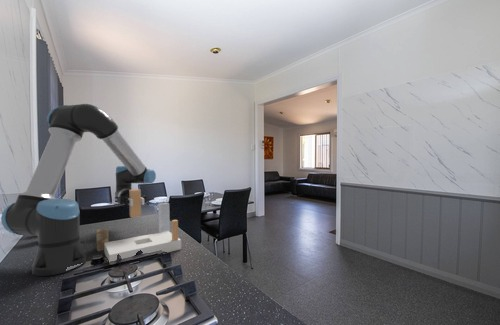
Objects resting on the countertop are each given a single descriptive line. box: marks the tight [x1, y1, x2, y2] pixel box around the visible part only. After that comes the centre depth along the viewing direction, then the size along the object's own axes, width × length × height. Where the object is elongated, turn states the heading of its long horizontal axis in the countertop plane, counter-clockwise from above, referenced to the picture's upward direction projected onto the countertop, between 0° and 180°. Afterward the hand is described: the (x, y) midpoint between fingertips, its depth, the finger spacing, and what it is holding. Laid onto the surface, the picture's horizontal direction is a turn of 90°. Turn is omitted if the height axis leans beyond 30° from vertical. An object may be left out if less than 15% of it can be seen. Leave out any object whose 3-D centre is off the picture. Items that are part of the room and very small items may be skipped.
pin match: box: [128, 188, 142, 219], centre depth 112 cm, size 4×4×12 cm
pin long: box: [158, 202, 171, 233], centre depth 120 cm, size 4×4×16 cm
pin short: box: [95, 227, 110, 252], centre depth 104 cm, size 4×4×8 cm
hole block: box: [103, 219, 182, 261], centre depth 101 cm, size 26×16×12 cm, turn 127°
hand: (137, 202), depth 108 cm, fingers closed on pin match, 4 cm apart
